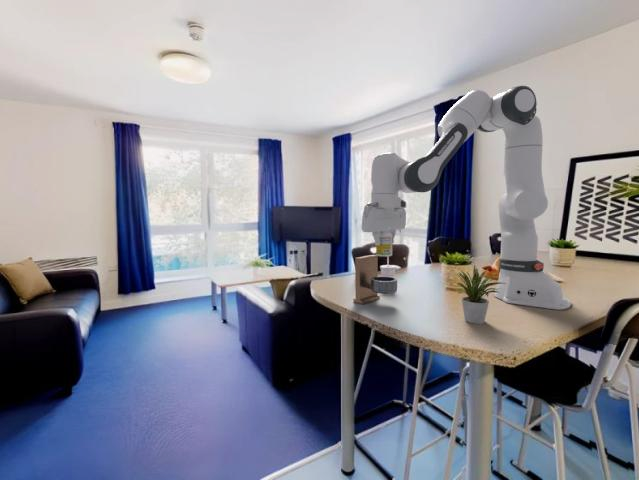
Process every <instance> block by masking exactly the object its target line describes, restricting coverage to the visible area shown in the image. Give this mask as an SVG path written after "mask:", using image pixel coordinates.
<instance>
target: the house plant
mask: <svg viewBox="0 0 639 480" xmlns="http://www.w3.org/2000/svg"><path fill="white" fill-rule="evenodd" d="M489 268H490V267H487V268H486V269H485V270H484V271H483V272H482V273H481V274H479V269H478V268H477V267H476V265H475V264H474V265H473V271H472V272H473V273H472V274H473V275H472V278H471V275H470V273H469V272H468V271H466V272H465V270H464V269H462V270H460V272H459V271H458V273H457V272H456V275H457V276H458V277H459V278H460V280H461V281H462V282H463V283H461V282H457V283H455V284H456V285H458V286H460V287H461V288H458V290H457V292H458V294H462V293H465V294H466V295H467V296H464V297H461V303H462V310H463V311H462V312H463V318H464V320H465V322H468V323H470V324H475V325H476V324H477V325H480V324H482V325H483V324H484V323H485V321H486V317H487V312H488V308H489V302H490V300H489V299H487V298H489V294H490V293H495V292H498V291H499V290H498V291H496V290H497V289H496V288H493V287H491V286H495V285H496V286H497V284H505V283H501V282H498V281H496V282H494V281H493V280H495V276H494V275H496V274H497V273H498V271H496V272H492V273H491V274H489V275H488V276H487V277H486V278H484V277H485V274H486V273H487V272H488V271H489ZM499 277H502V276H499V275H497V276H496V278H499ZM483 278H484V279H483ZM482 279H483V280H482ZM491 281H493V282H491ZM498 289H499V288H498ZM498 293H499V292H498ZM485 296H486V297H487V298H484V297H485Z"/></svg>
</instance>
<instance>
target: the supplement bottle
mask: <svg viewBox="0 0 639 480" xmlns="http://www.w3.org/2000/svg"><path fill="white" fill-rule="evenodd" d="M390 230H391V229H390V227H388V229H387V231H380V235H379V237H380V240H382V245H375V246H376V248H375V250H376V251H375V255H377V256H378V257H387V256H389V257H392V256H393V254H394V253H393V252H394V251H393V245H394V243H393V236H392V234H391V233H390Z"/></svg>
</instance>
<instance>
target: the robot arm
mask: <svg viewBox="0 0 639 480" xmlns="http://www.w3.org/2000/svg"><path fill="white" fill-rule="evenodd" d="M537 104H538V103H537V97H536V94H535V92H534V91H533V90H532V88H531V87H530V86H527V85H518V86H514V87H511V88H509V89H507V90H506V91H503V92H500V93H498V94H496V95H494V96H493V97H490V95H489V94H488V93H487V92H486V91H484V90H480V89H473V90H470V91H469V92H468V93H466V94H465V95H464V96H463V97H462V98H460V99H459V100H458V101H456V103H454V104H453V106H452V107H450V108H449V110H448V111H447V112H446V113H445V115H443V117H442V118H441V120H440V121H439V123H438V125H437V133H438V136H439V137H440V138H439V140H438V141H437V142H436V143H435V144H434V146H433V147H432V148H431V149H430V151H429V152H428V153H427V154H426V155H425V156H423V157H421V158H419V159H416V160H413V161H408V160H405V159H403V158H402V157H400V156H399V155H398V154H397V153H396V152H386V153H382V154H379V155H377V156H376V157H374V158H373V160H372V163H371V173H370V174H371V186H372V188H371V193H370V194H371V195H370V199H371V201H370V202H368V203H366V205H365V206H364V208H363V212H362V219H361V230H362V232H363V233H372V234H371V235H372V237H373V239H374V245H375V246H376V245H382V240H380V237H379V235H380V231H387V229H388V227H390V229H391V230H390V233H391V234H392V236H393V244H395V243H394V242H395V236H396V234H397V230H399V231H400V230H404V229H405V227H406V225H407V224H406V223H407V222H406V221H407V212H406V208H407V202H406V200H404V199H402V198H401V197H399V192H401V193H404V194H405V193H406V194H411V193H414V194H415V193H427V192H429V191H431V190H433V189H434V188H435V187H436V186H437V185H438V183H439V181H440V178H441V176H442V173H443V171H444V168H445V167H446V166H447V164H448V163H449V162H450V161H451V160H452V158H453V157H454V155H455V154H457V152H458V151H459V149H460V148H461V147H462V145H463V144H464V143H465V142H466V141H467V140H468V139H469V138H470V137H471V136H472V135H473V134H474V133H475V132H476V131H477V130H478V131H480V132H483V133H492V132H496V131H499V130H503V132H504V135H505V141H504V142H505V143H504V155H503V156H504V158H503V174H504V177H505V185H506V193H504V194H503V195H502V196H501V198H500V199H499V200H498V205H497V206H498V217H499V226H500V257H499V258H498V264H497V265H498V267H497V270H498V273H499V274H498V276H502V277H498V278H497V282H501V283H505V284H496V288H495V289H497V290H495V291H498V290H499V291H498V292H499V293H498V292H493V293H494V294H493V296H494V297H496V298H497V299H500V300H502V301H503V302H504V303H507V304H513V305H514V304H515V305H519V306H520V305H522V306H528V307H536V308H542V309H550V310H551V309H552V310H557V311H558V310H560V311H561V310H566V309H568V308H570V307H571V306H572V301H571V300H570V299H568V298H566V297H564V293H563V289H562V286H561V284H560V283H559V282H558V281H556V280H555V279H553V277H551V276H550V275H548V274H547V273H546V272H545V271H544V266H545V265H544V264H545V262H542V261H540V260H539V259H537V258H538V246H539V245H538V243H539V242H538V241H539V237H538V234H537V231H536V225H535V219H538V218H539V217H540V216H542V215H543V214H544V213H545V212H546V210H547V209H548V206H549V201H548V198H547V196H546V193H545V191H546V190H545V185H544V181H543V180H544V179H543V171H542V163H543V128H542V123H541V120H540V118H539V117H538V116H537V115H536V113H537V106H538V105H537ZM498 288H499V289H498Z"/></svg>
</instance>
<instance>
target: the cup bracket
mask: <svg viewBox="0 0 639 480" xmlns="http://www.w3.org/2000/svg"><path fill="white" fill-rule="evenodd" d="M378 257H379V256H377V255H376V254H370V255H363V256H359V257H355V258H354V260H355V262H354V263H355V266H354V267H355V270H354V272H355V273H354V274H355V281H354V282H355V284H354V285H355V298H353V299H352V300H353V303H355V304H359V305H365V304H368V303H370V302H371V303H372V302H374V301H378V300H380V299H381V297H380V296H381V295H379V294H383V295H384V294H385V295H386V294H387V295H389V294H395V293H397V292H398V278H396V277H395V276H394V277H388V276H382V275H381V276H380V275H379V273H378V267H379V265H378V263H379V262H378V261H379V259H378Z"/></svg>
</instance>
